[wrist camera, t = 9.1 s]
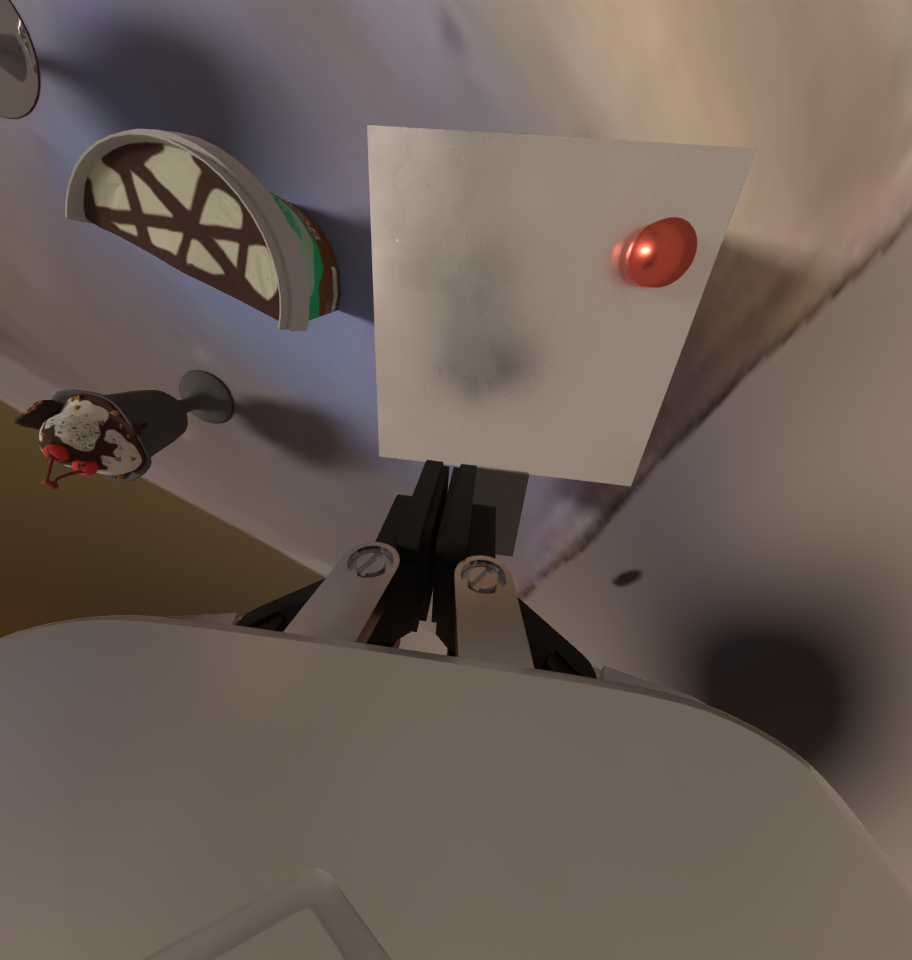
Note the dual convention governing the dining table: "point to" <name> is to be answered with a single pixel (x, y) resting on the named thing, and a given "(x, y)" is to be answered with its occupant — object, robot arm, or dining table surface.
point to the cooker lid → (536, 297)
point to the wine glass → (16, 65)
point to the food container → (207, 221)
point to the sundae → (120, 425)
